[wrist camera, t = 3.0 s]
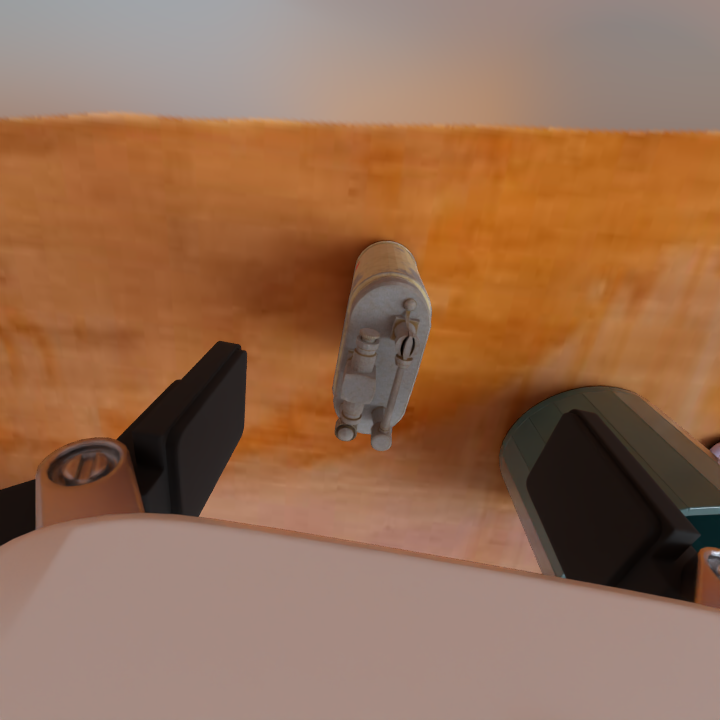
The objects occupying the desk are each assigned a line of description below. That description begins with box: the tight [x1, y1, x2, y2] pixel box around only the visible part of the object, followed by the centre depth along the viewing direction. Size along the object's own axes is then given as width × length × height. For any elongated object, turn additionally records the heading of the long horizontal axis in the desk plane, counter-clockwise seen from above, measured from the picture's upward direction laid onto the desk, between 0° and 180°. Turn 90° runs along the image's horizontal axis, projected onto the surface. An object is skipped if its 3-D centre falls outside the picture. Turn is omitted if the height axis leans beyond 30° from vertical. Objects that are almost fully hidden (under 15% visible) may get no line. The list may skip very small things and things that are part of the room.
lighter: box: [332, 241, 432, 451], centre depth 17 cm, size 7×4×10 cm, turn 169°
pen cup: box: [499, 386, 720, 578], centre depth 21 cm, size 11×11×10 cm
